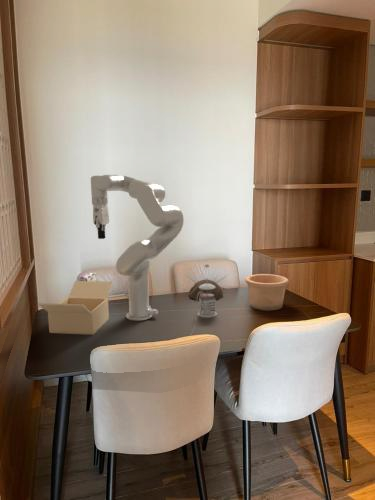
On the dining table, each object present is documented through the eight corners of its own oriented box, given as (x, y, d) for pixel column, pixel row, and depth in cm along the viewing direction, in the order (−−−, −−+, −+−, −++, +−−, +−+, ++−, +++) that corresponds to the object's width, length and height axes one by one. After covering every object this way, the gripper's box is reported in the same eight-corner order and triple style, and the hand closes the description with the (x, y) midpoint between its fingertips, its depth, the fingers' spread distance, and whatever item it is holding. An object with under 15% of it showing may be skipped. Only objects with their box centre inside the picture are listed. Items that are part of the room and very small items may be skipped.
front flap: (82, 304, 153) (82, 305, 152) (91, 312, 161) (90, 313, 161) (37, 303, 155) (37, 304, 155) (48, 310, 164) (48, 311, 164)
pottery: (281, 314, 184) (281, 286, 182) (238, 308, 195) (238, 281, 192) (292, 302, 203) (293, 276, 200) (253, 297, 213) (253, 272, 211)
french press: (221, 313, 187) (221, 263, 183) (206, 319, 179) (205, 267, 174) (206, 309, 194) (205, 261, 189) (190, 315, 185) (190, 265, 181)
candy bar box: (89, 301, 210) (87, 272, 208) (98, 301, 209) (96, 272, 207) (80, 307, 200) (78, 277, 197) (88, 308, 199) (87, 277, 196)
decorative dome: (230, 295, 218) (230, 278, 216) (208, 303, 203) (208, 285, 202) (203, 289, 231) (203, 273, 229) (181, 297, 216) (181, 280, 214)
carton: (109, 318, 183) (107, 298, 181) (93, 334, 163) (92, 312, 161) (69, 317, 185) (68, 297, 184) (49, 332, 166) (47, 310, 164)
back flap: (107, 298, 181) (107, 298, 181) (111, 281, 187) (112, 282, 188) (68, 297, 184) (69, 297, 184) (74, 281, 190) (75, 281, 190)
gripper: (101, 202, 178) (103, 240, 181) (112, 200, 192) (113, 236, 196) (86, 202, 179) (88, 240, 182) (97, 200, 193) (99, 236, 197)
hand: (101, 238), depth 189 cm, fingers closed
